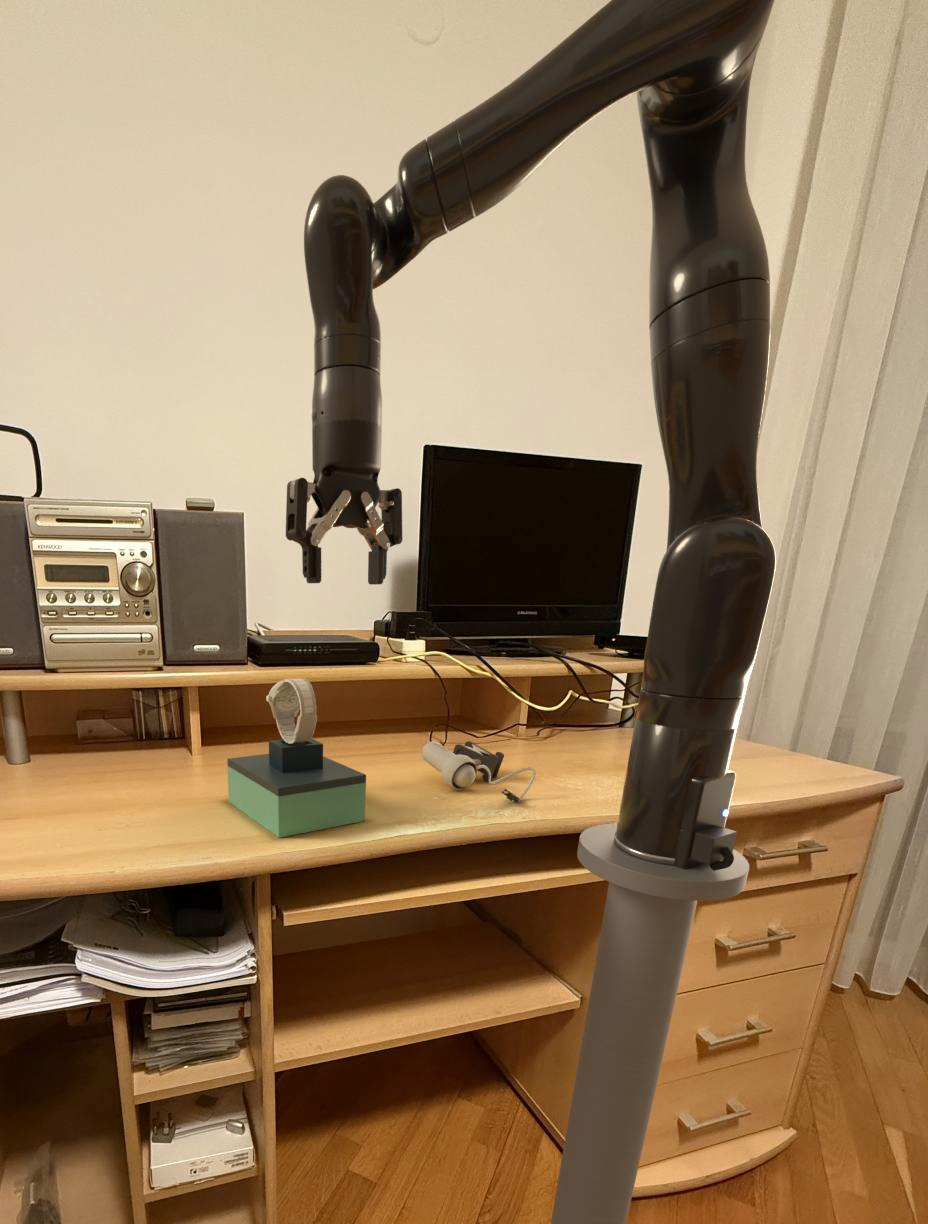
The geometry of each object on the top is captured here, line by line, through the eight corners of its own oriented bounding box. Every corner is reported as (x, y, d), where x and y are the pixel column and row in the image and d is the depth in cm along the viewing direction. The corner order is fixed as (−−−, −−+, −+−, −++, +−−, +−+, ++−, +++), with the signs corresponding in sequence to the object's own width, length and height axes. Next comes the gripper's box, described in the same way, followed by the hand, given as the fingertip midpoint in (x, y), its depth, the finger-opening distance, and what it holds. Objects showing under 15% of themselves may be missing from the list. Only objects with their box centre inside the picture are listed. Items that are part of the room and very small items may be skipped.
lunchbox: (364, 820, 79) (366, 774, 77) (278, 837, 73) (278, 788, 71) (306, 789, 91) (306, 748, 89) (228, 801, 85) (227, 758, 83)
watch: (301, 756, 85) (302, 673, 81) (329, 771, 78) (330, 681, 75) (262, 761, 82) (261, 675, 79) (287, 776, 75) (287, 684, 72)
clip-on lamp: (544, 817, 90) (466, 761, 104) (560, 777, 87) (478, 725, 101) (483, 822, 84) (408, 762, 98) (498, 780, 81) (419, 724, 95)
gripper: (306, 407, 62) (308, 582, 67) (420, 426, 69) (414, 584, 74) (272, 424, 68) (276, 584, 73) (379, 440, 75) (376, 585, 80)
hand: (345, 583), depth 73 cm, fingers open, 8 cm apart
